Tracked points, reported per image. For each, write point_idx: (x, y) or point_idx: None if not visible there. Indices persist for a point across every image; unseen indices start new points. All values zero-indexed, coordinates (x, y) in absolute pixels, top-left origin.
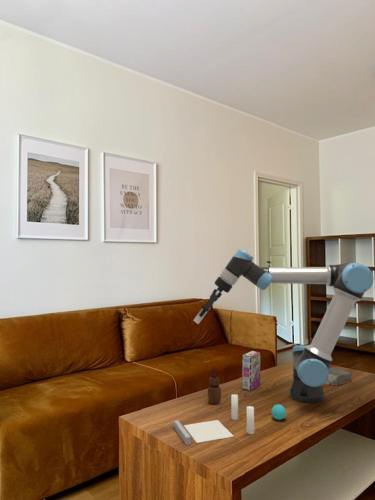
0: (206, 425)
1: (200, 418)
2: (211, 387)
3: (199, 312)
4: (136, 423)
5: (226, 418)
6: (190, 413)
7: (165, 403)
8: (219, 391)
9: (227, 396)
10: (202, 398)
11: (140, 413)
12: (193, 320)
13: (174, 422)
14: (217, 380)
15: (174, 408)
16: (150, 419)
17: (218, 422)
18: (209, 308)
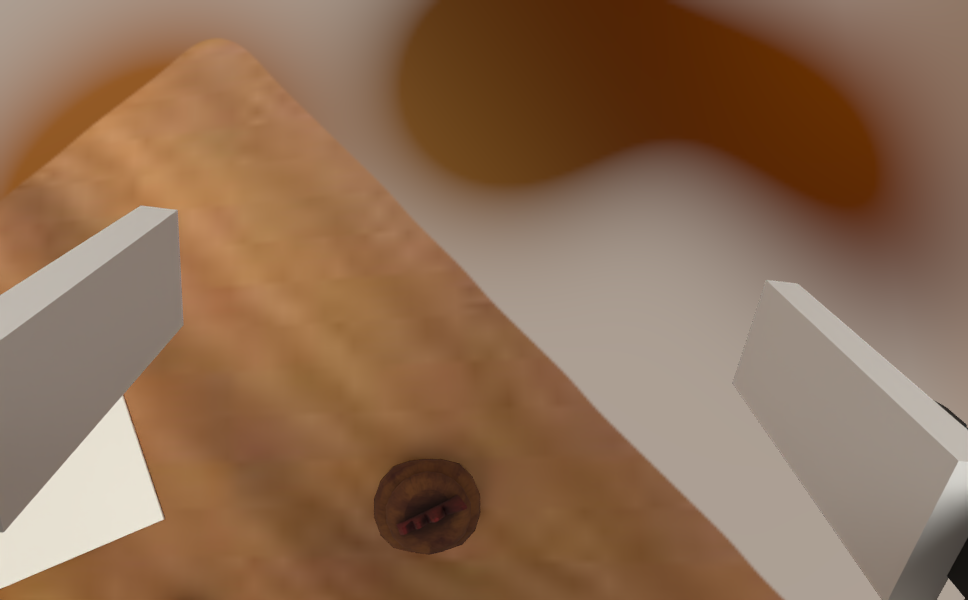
0: (94, 455)
1: (196, 420)
2: (395, 487)
3: (18, 297)
4: (144, 103)
5: (192, 571)
6: (264, 361)
7: (402, 216)
8: (389, 542)
9: (533, 585)
10: (489, 423)
11: (265, 106)
12: (140, 211)
13: None
14: (396, 538)
15: (333, 270)
16: (189, 162)
17: (129, 523)
18: (869, 568)
